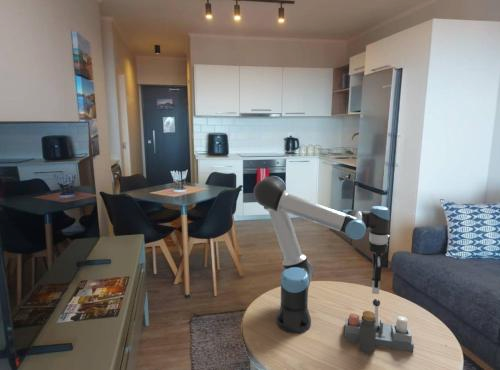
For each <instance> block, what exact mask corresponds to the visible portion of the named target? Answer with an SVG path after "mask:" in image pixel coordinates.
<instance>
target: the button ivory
mask: <svg viewBox="0 0 500 370" xmlns="http://www.w3.org/2000/svg"><path fill="white" fill-rule="evenodd" d="M395 323H396V324H395V325H396V331H397V332H399V333H403V334H405V333H407V326H408V323H409V319H408V318H407V317H405V316H402V315H399V316H397V317H396V321H395ZM408 327H409V326H408Z"/></svg>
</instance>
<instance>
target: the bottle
mask: <svg viewBox="0 0 500 370" xmlns="http://www.w3.org/2000/svg"><path fill="white" fill-rule="evenodd" d="M375 316H376V315H375V312H372V311H370V310H364V311H362V316H361V320H362V322H361V323H360V334H359V343H358V350H359V351H360V352H361V353H362V354H363V355H364V354H365V355H373V354H374V353H375V350H376V349H375V348H376V346H375V339H376V325H375V323H376V319H375Z"/></svg>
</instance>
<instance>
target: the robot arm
mask: <svg viewBox="0 0 500 370" xmlns="http://www.w3.org/2000/svg"><path fill="white" fill-rule="evenodd" d="M286 190H287V188H286V183H285V181H284V180H283V179H282V178H280V176H276V175H270V176H266V177H264V178H263V179H261V180H259V181H258V182H257V183H256V184H255V186H254V188H253V197H254V199H255V201H256V202H257V204H259V205H260V206H262V207H263V209H264V210H265V211H267V212H268V213H269V216H270V219H271V223H272V225H273V228H274V232H275V235H276V237H277V240H278V243H279V246H280V250H281V254H282V256H283V261H282V266H283V271H282V273H281V277H280V305H279V307H278V312H277V314H276V318H275V319H276V320H275V322H276V326H278V328H280V329H281V330H283V331H284V332H287V333H292V334H300V333H304V332H306V331H308V330H309V329H310V328H311V326H312V319H311V314H310V312H309V308H308V304H309V303H308V302H309V299H308V298H309V295H308V294H309V287H310V284H311V281H312V278H313V275H314V273H313V266H312V264H311V262H310V261H309V260H308V258H307V255H306V254H304V253H302V251H301V247H300V244H299V240H298V238H297V235H296V231H295V228H294V225H293V222H292V218H291V215H293V216H296V217H299V218H302V219H305V220H307V221H310V222H313V223H316V224H318V225H321V226H323V227H327V228H330V229H332V230H335V231H338V232H340V233H343V234H346V236H347V237H349V238H350V239H352V240H361V239H362V238H363V237H364V236H365V235H366V232H367V231H366V230H367V229H369V235H368V237H369V238H368V240H369V242H368V250H369V251H370V252H371V253H372V254H371V257H372V278H371V281H372V287H371V289H372V290H371V293H372V295H380V282H381V279H382V268H383V267H382V266H383V260H384V256H383V254H385V253H387V252H388V245H389V244H388V242H389V238H390V236H391V235H389V233H390V232H389V229H390V219H391V218H390V209H389V208H388V207H387V206H383V205H374V206H371V208H370V210H356V209H355V210H354V209H343V210H342V211H340V210H339V211H338V210H336V209H333V208H330V207H327V206H325V205H322V204H320V203H316V202H313V201H311V200H307V199H305V198H302V197H299V196H296V195H294V194H290V193H288V192H287V191H286ZM290 214H291V215H290Z"/></svg>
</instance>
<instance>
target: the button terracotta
mask: <svg viewBox="0 0 500 370" xmlns="http://www.w3.org/2000/svg"><path fill="white" fill-rule="evenodd" d="M348 318H349V325H350V326H357V327H359V319H360V315H358V314H357V313H349V315H348Z"/></svg>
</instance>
